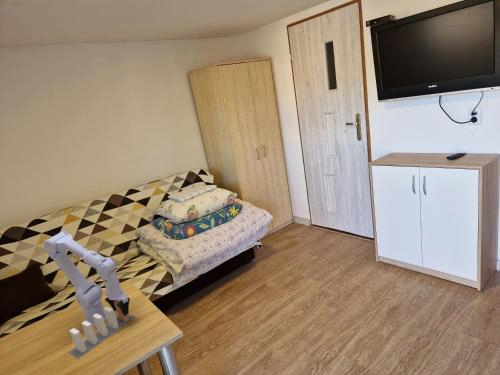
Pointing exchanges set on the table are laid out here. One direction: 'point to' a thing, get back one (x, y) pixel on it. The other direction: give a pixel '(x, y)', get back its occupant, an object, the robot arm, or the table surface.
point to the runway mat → (100, 337)
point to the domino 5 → (120, 312)
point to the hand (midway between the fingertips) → (121, 312)
